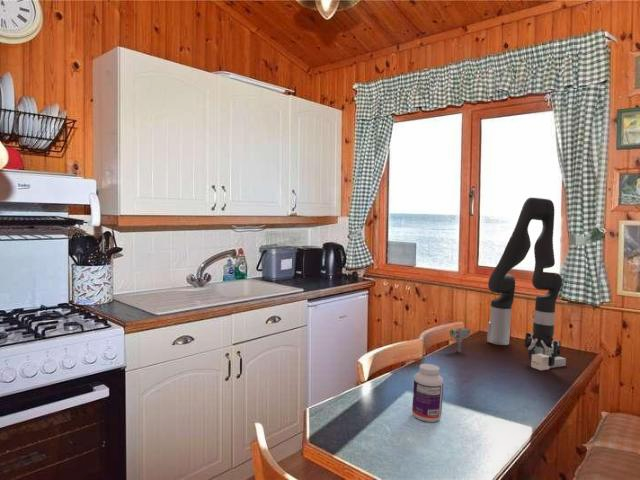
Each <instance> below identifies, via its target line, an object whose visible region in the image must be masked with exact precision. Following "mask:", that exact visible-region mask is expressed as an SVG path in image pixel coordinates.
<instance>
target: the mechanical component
mask: <svg viewBox="0 0 640 480" xmlns="http://www.w3.org/2000/svg"><path fill="white" fill-rule="evenodd" d="M470 333H471V329H469V328H466V327H460V328H459V327H458V328H456V330H455V329H450V330H449V337H450V338H452V339H454V340H455V342H456V343H457V344H456V352H458V353H461V349H462V343H463V339H468V338H469V337H470Z"/></svg>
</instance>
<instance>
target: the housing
mask: <svg viewBox="0 0 640 480" xmlns="http://www.w3.org/2000/svg"><path fill="white" fill-rule="evenodd" d="M533 341H534V340H532V342H533ZM532 342H531V343H532ZM552 346H553V343H552ZM549 349H550V348H549ZM534 350H535V354H540V353H541V354H544V355H547V356H549V355H548V353H547V352H546V350H545V349H543V348H541V347H536V348H535V349H534ZM557 357H560V356H557Z"/></svg>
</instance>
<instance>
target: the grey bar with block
mask: <svg viewBox="0 0 640 480" xmlns="http://www.w3.org/2000/svg"><path fill="white" fill-rule="evenodd" d="M548 358H549V356H547V355H545V353H543V354H541V353H540V354H532V360H530V361H531V362H530V367H531V368H533V369H536V370H539V371H546V370H550V369H552V368H553V369H554V368H560V367H561V368H562V367H566V362H567V358H565V357H562V356H559V357H555V363H554V365H553V366H548Z"/></svg>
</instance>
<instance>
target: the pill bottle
mask: <svg viewBox="0 0 640 480" xmlns="http://www.w3.org/2000/svg"><path fill="white" fill-rule="evenodd" d="M418 369H419V371H418V372H417V373H415V374H414V378H413V394H412V404H411V405H412V408H411V413H412V416H413V417H414V418H415V419H417V420H420V421H423V422H427V423H435V422H437V421H440V419H441V418H442V409H443V397H444V395H443V394H444V393H443V392H444V378H443V377H442V375H440V370H441V369H440V366H438V365H435V364H432V363H421V364H419V368H418Z"/></svg>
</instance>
